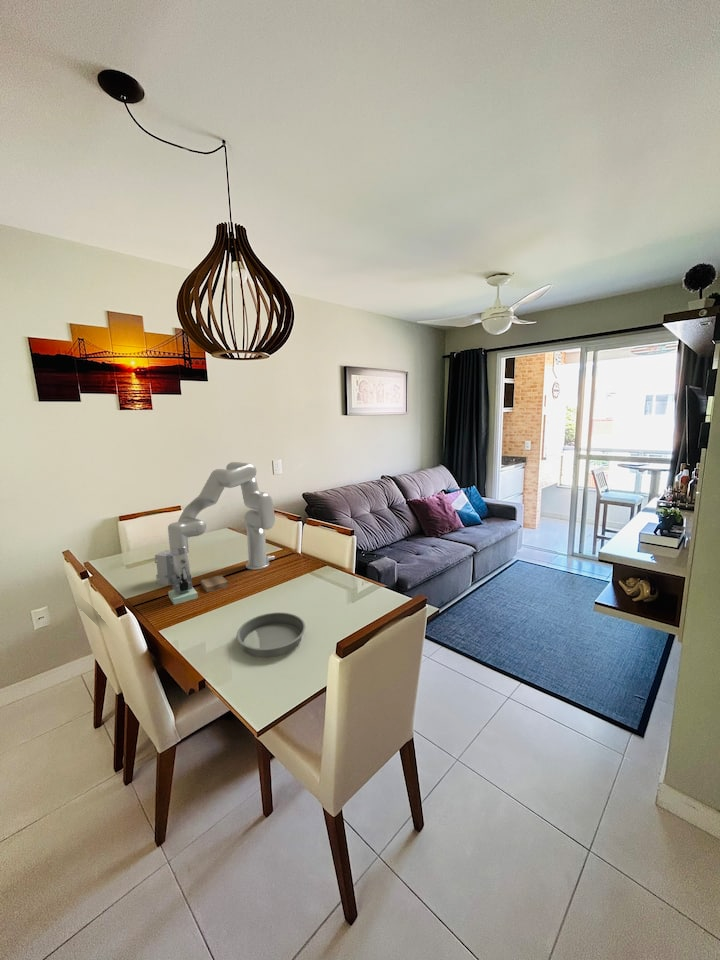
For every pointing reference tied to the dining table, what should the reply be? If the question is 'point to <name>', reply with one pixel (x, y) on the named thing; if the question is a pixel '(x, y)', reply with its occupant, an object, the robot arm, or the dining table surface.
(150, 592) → the dining table surface
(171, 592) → the stand green
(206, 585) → the stand walnut
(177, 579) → the block
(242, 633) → the cake pan
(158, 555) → the circuit breaker
